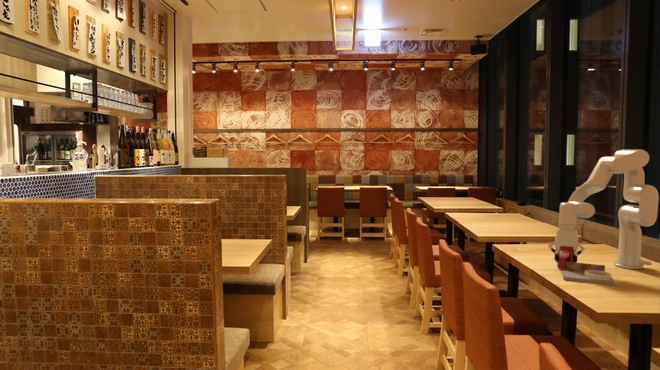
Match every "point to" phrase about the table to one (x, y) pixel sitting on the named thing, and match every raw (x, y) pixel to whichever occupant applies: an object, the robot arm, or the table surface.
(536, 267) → the table surface
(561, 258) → the soda can
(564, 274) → the board
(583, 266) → the rail
